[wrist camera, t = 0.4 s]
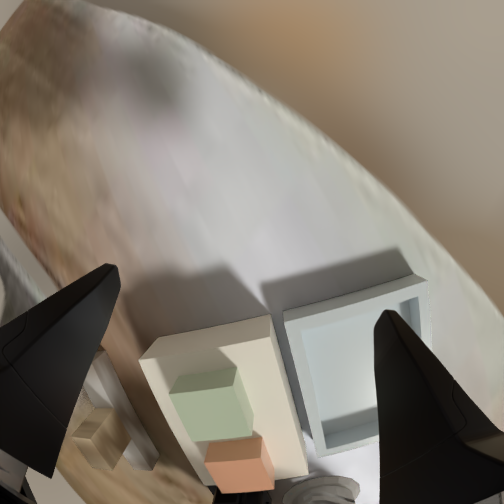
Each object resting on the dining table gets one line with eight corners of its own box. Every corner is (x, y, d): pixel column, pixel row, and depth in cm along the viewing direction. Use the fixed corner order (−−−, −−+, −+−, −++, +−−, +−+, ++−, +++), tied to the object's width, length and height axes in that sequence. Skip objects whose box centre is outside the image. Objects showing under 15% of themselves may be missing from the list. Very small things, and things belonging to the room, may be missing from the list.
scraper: (160, 453, 27) (137, 502, 19) (142, 453, 28) (117, 499, 20) (106, 349, 26) (61, 389, 18) (88, 351, 26) (43, 389, 18)
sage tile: (254, 414, 20) (251, 435, 18) (198, 421, 21) (191, 441, 18) (237, 366, 20) (233, 385, 17) (178, 376, 20) (168, 394, 18)
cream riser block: (305, 443, 26) (308, 474, 21) (212, 456, 27) (204, 485, 22) (270, 314, 24) (269, 336, 19) (158, 337, 25) (138, 360, 20)
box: (420, 408, 24) (429, 422, 22) (315, 441, 26) (317, 458, 23) (414, 273, 23) (427, 280, 20) (282, 311, 24) (283, 322, 21)
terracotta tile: (274, 469, 21) (274, 489, 19) (225, 474, 22) (222, 493, 19) (262, 436, 21) (260, 457, 18) (209, 442, 21) (203, 462, 19)
